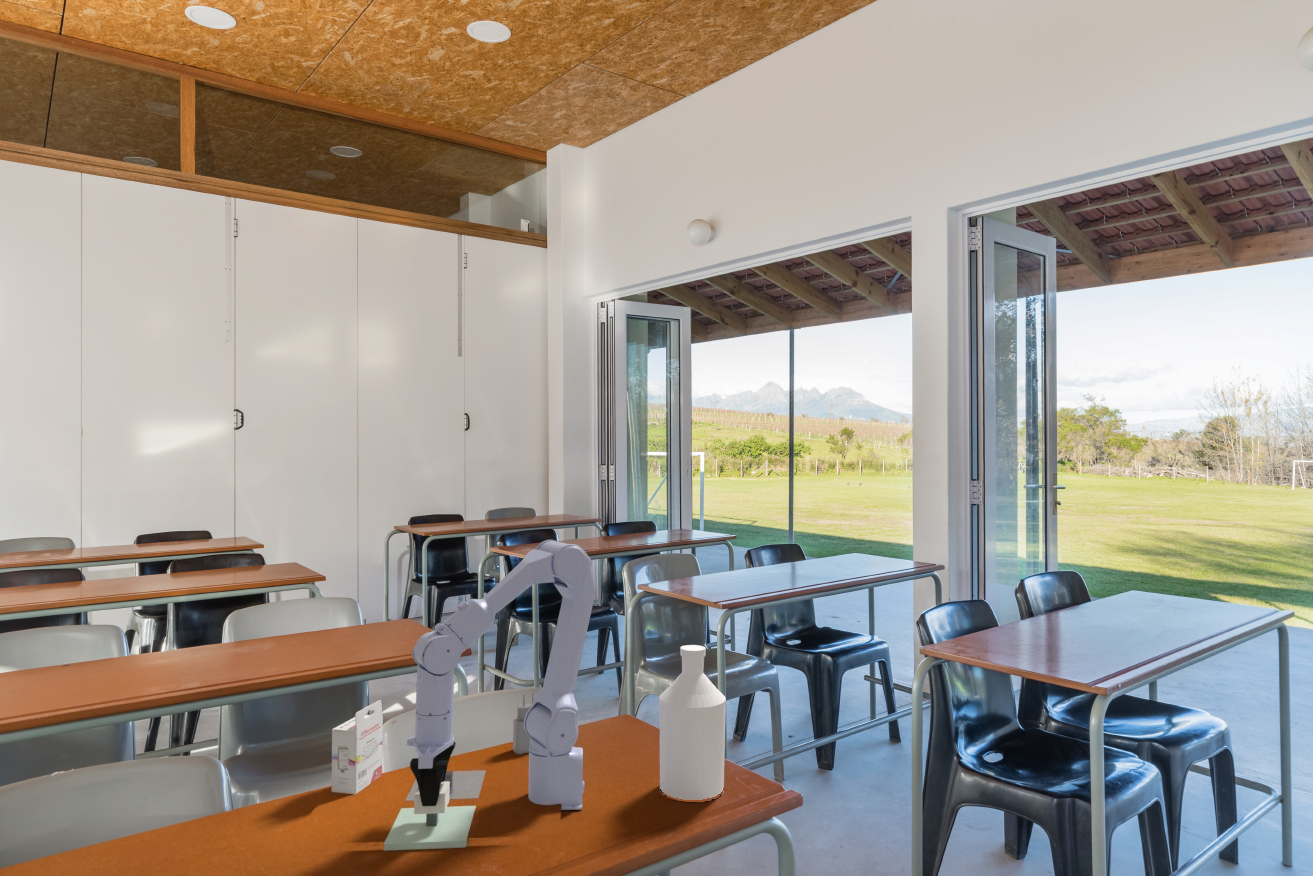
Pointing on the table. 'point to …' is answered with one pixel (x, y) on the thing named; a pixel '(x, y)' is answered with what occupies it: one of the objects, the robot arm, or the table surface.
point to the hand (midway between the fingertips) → (432, 798)
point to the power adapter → (521, 729)
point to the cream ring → (441, 802)
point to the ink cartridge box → (357, 751)
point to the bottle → (692, 732)
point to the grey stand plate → (459, 784)
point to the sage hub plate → (430, 829)
